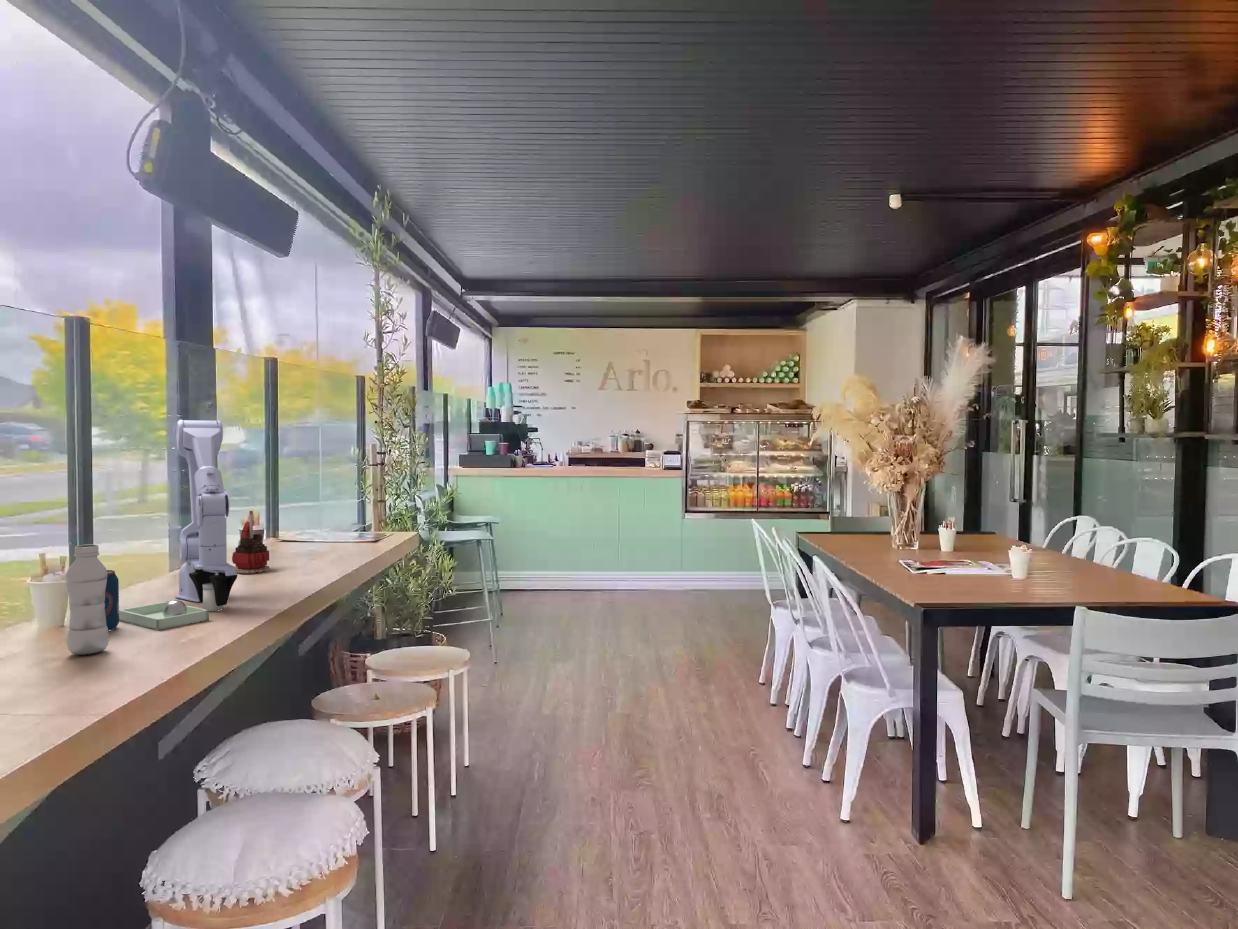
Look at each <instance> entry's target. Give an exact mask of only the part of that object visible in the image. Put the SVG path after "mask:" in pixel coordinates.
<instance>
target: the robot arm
mask: <svg viewBox="0 0 1238 929" xmlns="http://www.w3.org/2000/svg"><path fill="white" fill-rule="evenodd" d="M175 430H176V431H175V435H176V447H177V448H176V449H177V451H178V455H179V456H181V457H182V458H185V459H186V462H187V466H188V478H189V479H188V480H189V498H190V516H191V522H190V523H189V524H188V525H186V526H185V527H184V528H182V529H181V530H180V533H179V541H178V542H179V543H178V544H179V545H178V546H179V550H178V552H179V558H180V561H182V562H183V564H182V565H181V566H180V568H179V571H178V594H177V595H175V598H176V599H179V600H185V601H190V602H194V603H195V602H196V603H202V604H203V584H205V583H212V584H213V587H214V592H215V601H216V605H217V606H223V607H224V606H227V605H228V602H229V601H228V600H229V597H230V593H231V591H232V588H233V585H234V584H235V582H236V580H237V578H238V574H236V573H237V572H236V565H232V564H230V563H228V561H227V560H228V558H227V556H228V555H227V551H228V550H227V549H228V548H227V545H228V544H227V543H228V541H227V518H228V517H229V513H230V499H229V494H228V492H227V490H226V489H225V488H224V483H223V482H224V481H223V475H222V472H221V470H220V469H219V468H217V467H216V463H215V462H216V458H215V457H216V456H218V455H219V452H220V451H221V449H222V448H221V447H222V443H223V438H224V428H223V422H222V421H220V420H218V419H217V420H196V419H195V420H194V419H193V420H192V419H191V420H190V419H189V420H188V419H184V420H183V419H178V421H177V422H176V428H175Z"/></svg>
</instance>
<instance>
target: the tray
mask: <svg viewBox="0 0 1238 929" xmlns="http://www.w3.org/2000/svg"><path fill="white" fill-rule="evenodd" d="M168 602H169V601H168V600H167V601H164V602H157V603H151V604H145V605H139V606H132V607H128V608H121V609H119V622H123V621H124V623H128V624H131V623H133V624H132V625H135V624H136V625H135V626H139V625H141V626H140V627H142V628H143V627H144V628H147V629H151V628H152V629H151V630H156V631H161V630H166V629H165V628H167V629H171V628H172V629H173V628H176V627H177V628H178V627H181V625H182V626H187V625H191V624H190V623H192V624H196V623H201V622H200V621H202V622H207V621H210V612H209V610H206V609H203V608H201V607H196V606H190V605H187V604H185V605H186V607H187V613H186V614H182V615H177V616H172V617H166V618H164V616H163V608H164V606H165V605H166V604H167V603H168Z"/></svg>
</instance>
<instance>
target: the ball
mask: <svg viewBox="0 0 1238 929" xmlns="http://www.w3.org/2000/svg"><path fill="white" fill-rule="evenodd" d="M167 602H168V601H167ZM186 605H187V604H185V602H184V601H181V600H180V599H174V600H170V601H169V602H168V603H167V604H166V605H165V606H164V608H163V616H164V618H166V617H172V616H177V615H182V614H186V613H187V607H186Z"/></svg>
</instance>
